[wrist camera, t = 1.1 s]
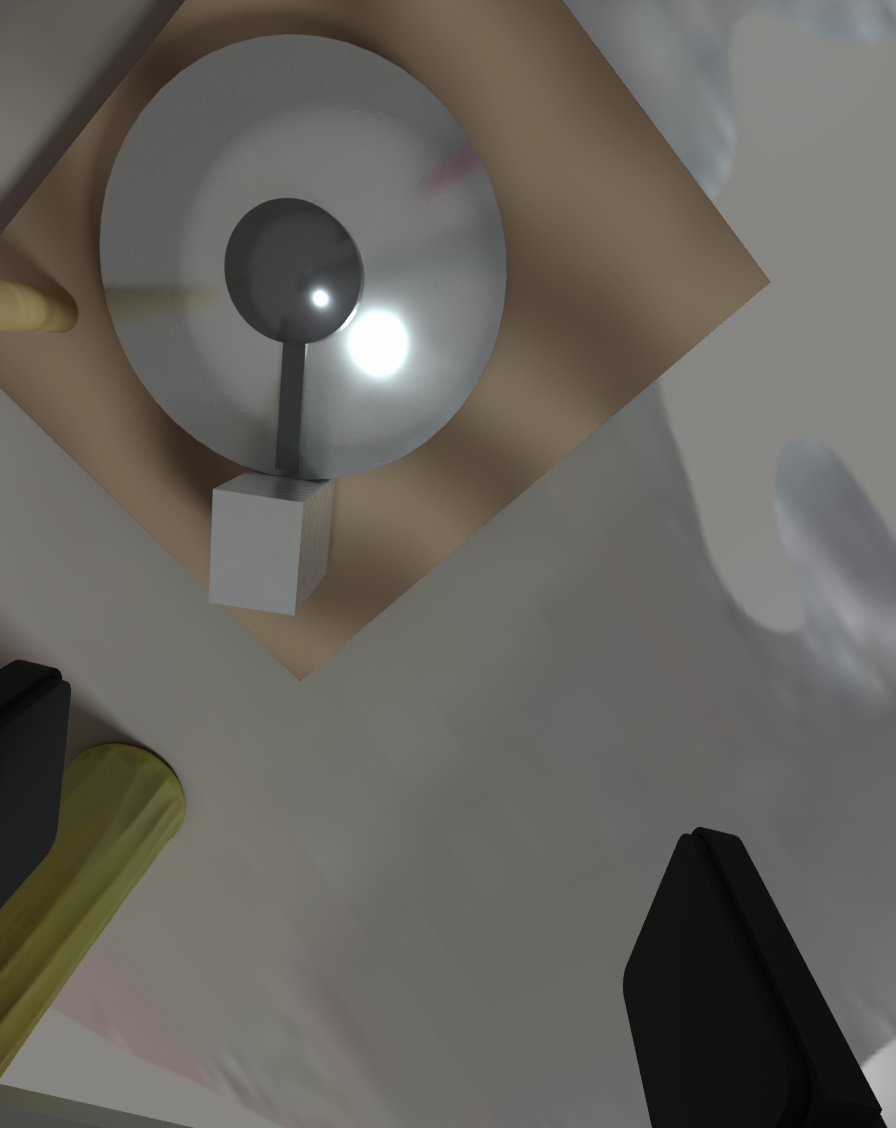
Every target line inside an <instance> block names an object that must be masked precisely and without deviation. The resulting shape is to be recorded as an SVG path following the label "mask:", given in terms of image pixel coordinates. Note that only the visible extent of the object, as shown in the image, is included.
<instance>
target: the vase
mask: <svg viewBox="0 0 896 1128" xmlns="http://www.w3.org/2000/svg"><path fill="white" fill-rule="evenodd" d="M184 814H185V797H184V793H183V790H182V787H181V785H180V783H179V781H178V779H177V778H176V776H175V774H174V773H173V772H172V770H171V769H170V768H169V767H168V766H167V765H166V764H165V763H164V762H162V761H161V760H160V759H159V758H157V757H156V756H154V755H153V754H151V753H149V752H147V751H146V750H143V749H140V748H137V747H134V746H131V745H126V744H119V743H113V744H104V745H99V746H96V747H93V748H90V749H88V750H85V751H84V752H82V753H81V754H79V755H78V756H77V757H76V758H75V759H74V760H73V761H72V762H71V763H70V764H69V765H68V767H67V769H66V770H65V772H64V773H63V779H62V789H61V800H60V810H59V821H58V830H57V835H56V838H55V841H54V843H53V845H52V848H51V849H50V851H49V853H48V854H47V856H46V857H45V858H44V859H43V861H42V862H41V863H40V864H39V865H38V866H37V867H36V869H35V870H34V871H33V872H32V873H31V874H30V875H29V877H28V878H27V879H26V880H25V881H24V882H23V884H22V885H21V886H20V887H19V888H18V889H17V890H16V892H15V893H14V894H13V895H12V896H11V897H10V898H9V900H8V901H7V902H6V903H5V904H4V905H3V907H2V908H1V909H0V1078H1V1076H2V1075H3V1073H4V1072H5V1071H6V1069H7V1068H8V1066H9V1065H10V1063H11V1061H12V1060H13V1059H14V1057H15V1056H16V1054H17V1053H18V1051H19V1050H20V1048H21V1047H22V1046H23V1044H24V1043H25V1041H26V1040H27V1038H28V1037H29V1035H30V1034H31V1032H32V1031H33V1029H34V1028H35V1026H36V1025H37V1023H38V1022H39V1020H40V1019H41V1018H42V1016H43V1015H44V1013H45V1012H46V1011H47V1009H48V1008H49V1006H50V1005H51V1003H52V1002H53V1001H54V999H55V998H56V996H57V995H58V993H59V992H60V991H61V989H62V988H63V986H64V985H65V984H66V982H67V981H68V979H69V978H70V976H71V975H72V974H73V972H74V971H75V969H76V968H77V966H78V965H79V964H80V962H81V961H82V959H83V958H84V956H85V955H86V953H87V952H88V951H89V949H90V948H91V946H92V945H93V944H94V942H95V941H96V939H97V938H98V937H99V935H100V934H101V933H102V931H103V930H104V928H105V927H106V926H107V924H108V923H109V921H110V920H111V919H112V917H113V916H114V914H115V913H116V912H117V910H118V909H119V907H120V906H121V904H122V903H123V902H124V900H125V899H126V897H127V896H128V895H129V893H130V892H131V891H132V889H133V888H134V887H135V886H136V884H137V883H138V882H139V880H140V879H141V878H142V876H143V875H144V874H145V872H146V871H147V870H148V868H149V867H150V866H151V864H152V863H153V861H154V860H155V858H156V857H157V855H158V854H159V853H160V851H161V850H162V848H163V847H164V846H165V845H166V843H167V842H168V841H169V840H170V839H171V838H173V837H174V835H175V834H176V833H177V831H178V830H179V828H180V826H181V824H182V821H183V818H184Z"/></svg>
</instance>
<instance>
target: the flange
mask: <svg viewBox="0 0 896 1128" xmlns="http://www.w3.org/2000/svg"><path fill="white" fill-rule="evenodd" d="M100 261H101V275H102V281H103V286H104V291H105V297H106V302H107V306H108V309H109V312H110V316H111V319H112V322H113V325H114V329H115V332H116V334H117V336H118V338H119V341H120V343H121V345H122V348H123V350H124V352H125V354H126V357H127V358H128V360H129V362H130V364H131V365H132V367H133V369H134V370H135V372H136V374H137V376H138V377H139V379H140V381H141V382H142V383H143V385H144V386H145V387H146V389H147V390H148V391H149V393H150V394H151V395H152V397H153V398H154V400H155V401H156V402H157V403H158V404H159V405H160V406H161V408H162V409H163V410H164V411H165V412H166V413H167V414H168V415H169V416H170V417H171V418H172V419H173V420H174V421H175V422H176V423H177V424H178V425H179V426H180V427H182V428H183V429H184V430H185V431H186V432H188V433H189V434H190V435H191V436H192V437H193V438H195V439H196V440H198V441H199V442H201V443H202V444H204V445H205V446H207V447H208V448H210V449H211V450H213V451H214V452H216V453H218V454H220V455H222V456H224V457H226V458H228V459H230V460H232V461H234V462H236V463H238V464H240V465H243V466H246V467H249V468H251V470H249V471H247V472H245V473H243V474H241V475H239V476H238V477H236V478H234V479H232V480H230V481H228V482H226V483H224V484H222V485H220V486H218V487H216V488H214V489H213V501H212V528H211V555H210V582H209V603H215V604H222V605H228V606H235V607H241V608H248V609H254V610H261V611H267V612H274V613H280V614H287V615H293V616H295V614H296V613H297V612H298V610H299V609H300V608H301V606H302V605H303V604H304V602H305V601H306V600H307V598H308V597H309V596H310V594H311V593H312V592H313V590H314V589H315V587H316V586H317V585H318V583H319V582H320V581H321V579H322V578H323V577H324V575H325V574H326V573H327V562H328V551H329V540H330V529H331V518H332V507H333V496H334V485H335V479H336V478H341V477H347V476H352V475H358V474H362V473H365V472H368V471H371V470H374V469H377V468H380V467H383V466H385V465H387V464H389V463H391V462H393V461H395V460H397V459H400V458H402V457H404V456H405V455H407V454H408V453H410V452H412V451H413V450H415V449H416V448H418V447H419V446H421V445H422V444H424V443H425V442H426V441H428V440H429V439H430V438H431V437H432V436H433V435H434V434H436V433H437V432H438V431H439V430H440V429H441V428H442V427H444V426H445V425H446V423H447V422H448V421H449V420H450V419H451V418H452V417H453V416H454V414H455V413H456V412H457V411H458V410H459V409H460V408H461V406H462V405H463V404H464V402H465V401H466V399H467V398H468V396H469V395H470V393H471V392H472V390H473V389H474V387H475V386H476V384H477V382H478V380H479V378H480V376H481V374H482V372H483V370H484V368H485V366H486V364H487V362H488V360H489V358H490V355H491V352H492V349H493V346H494V343H495V341H496V338H497V335H498V331H499V326H500V322H501V317H502V312H503V308H504V300H505V289H506V278H507V274H506V246H505V240H504V233H503V227H502V220H501V215H500V212H499V208H498V205H497V201H496V197H495V194H494V190H493V187H492V185H491V182H490V180H489V178H488V175H487V173H486V171H485V168H484V166H483V163H482V161H481V159H480V157H479V155H478V154H477V152H476V150H475V148H474V147H473V145H472V143H471V141H470V140H469V138H468V136H467V135H466V133H465V131H464V130H463V129H462V127H461V126H460V125H459V124H458V122H457V121H456V120H455V118H454V117H453V116H452V114H451V113H450V112H449V110H448V109H447V108H446V107H445V106H444V105H443V104H442V103H441V102H440V101H439V100H438V99H437V98H436V97H435V96H434V95H433V94H432V93H431V92H430V91H429V90H428V89H427V88H426V87H425V86H424V85H423V84H421V83H420V82H419V81H418V80H416V79H415V78H414V77H412V76H411V75H410V74H408V73H407V72H406V71H404V70H403V69H402V68H400V67H399V66H397V65H395V64H393V63H391V62H390V61H388V60H386V59H384V58H383V57H381V56H379V55H377V54H375V53H373V52H371V51H368V50H366V49H363V48H360V47H358V46H355V45H352V44H350V43H347V42H343V41H339V40H334V39H330V38H325V37H320V36H312V35H295V34H284V35H274V36H263V37H257V38H253V39H249V40H246V41H242V42H238V43H234V44H231V45H229V46H226V47H224V48H222V49H219V50H217V51H215V52H213V53H210V54H208V55H206V56H204V57H203V58H201V59H199V60H198V61H196V62H195V63H193V64H192V65H190V66H188V67H187V68H185V69H184V70H182V71H181V72H180V73H179V74H177V75H176V76H175V77H174V78H173V79H172V80H171V81H169V82H168V83H167V84H166V85H165V86H164V87H163V88H161V89H160V90H159V92H158V93H157V94H156V95H155V96H154V97H153V99H152V100H151V101H150V102H149V103H148V105H147V106H146V107H145V108H144V109H143V110H142V112H141V113H140V115H139V116H138V118H137V120H136V121H135V123H134V124H133V126H132V127H131V129H130V131H129V132H128V134H127V135H126V137H125V140H124V142H123V144H122V146H121V148H120V151H119V153H118V155H117V157H116V159H115V162H114V165H113V168H112V171H111V174H110V178H109V181H108V184H107V188H106V192H105V197H104V203H103V209H102V215H101V227H100Z"/></svg>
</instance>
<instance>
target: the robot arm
mask: <svg viewBox="0 0 896 1128" xmlns="http://www.w3.org/2000/svg"><path fill="white" fill-rule="evenodd" d="M70 695H71V687H70V684H69V683H68V682H67V681H63V680H62V675H61V672H60V671H59V670H58V669H56V668H52V667H48V666H44V665H40V664H36V663H32V662H28V661H24V660H15V661H13V662H11V663H9V664H8V665H6V666H5V667H3V668H2V669H0V909H1V908H2V907H3V905H4V904H5V903H6V902H7V901H8V900H9V898H10V897H11V896H12V895H13V894H14V893H15V892H16V890H17V889H18V888H19V887H20V886H21V885H22V884H23V882H24V881H25V880H26V879H27V878H28V877H29V875H30V874H31V873H32V872H33V871H34V870H35V869H36V867H37V866H38V865H39V864H40V863H41V862H42V861H43V859H44V858H45V857H46V856H47V854H48V853H49V851H50V849H51V848H52V845H53V843H54V841H55V838H56V835H57V830H58V821H59V810H60V800H61V789H62V779H63V768H64V758H65V747H66V737H67V726H68V716H69V706H70ZM623 994H624V1000H625V1004H626V1009H627V1014H628V1018H629V1023H630V1028H631V1032H632V1037H633V1042H634V1046H635V1051H636V1055H637V1060H638V1065H639V1069H640V1074H641V1079H642V1083H643V1088H644V1093H645V1097H646V1102H647V1107H648V1111H649V1116H650V1121H651V1125H652V1128H887V1126H886V1124H885V1122H884V1120H883V1118H882V1116H881V1115H880V1113H881V1111H882V1108H881V1106H880V1104H879V1103H878V1101H877V1099H876V1097H875V1095H874V1093H873V1091H872V1089H871V1088H870V1085H869V1083H868V1082H867V1080H866V1078H865V1076H864V1074H863V1072H862V1070H861V1068H860V1066H859V1064H858V1062H857V1060H856V1059H855V1057H854V1055H853V1053H852V1051H851V1049H850V1047H849V1045H848V1043H847V1041H846V1039H845V1038H844V1036H843V1034H842V1032H841V1030H840V1028H839V1026H838V1024H837V1022H836V1020H835V1018H834V1017H833V1015H832V1013H831V1011H830V1009H829V1007H828V1005H827V1003H826V1001H825V999H824V997H823V996H822V994H821V992H820V990H819V988H818V986H817V984H816V982H815V980H814V978H813V976H812V975H811V973H810V971H809V969H808V967H807V965H806V963H805V961H804V959H803V957H802V955H801V953H800V952H799V950H798V948H797V946H796V944H795V942H794V940H793V938H792V936H791V934H790V932H789V931H788V929H787V927H786V925H785V923H784V921H783V919H782V917H781V915H780V913H779V911H778V910H777V908H776V906H775V904H774V902H773V900H772V898H771V896H770V894H769V892H768V890H767V889H766V887H765V885H764V883H763V881H762V879H761V877H760V875H759V873H758V871H757V869H756V868H755V866H754V864H753V862H752V860H751V858H750V856H749V854H748V852H747V850H746V848H745V846H744V845H743V843H742V841H741V840H740V838H739V837H737V836H735V835H732V834H728V833H724V832H720V831H716V830H711V829H707V828H703V827H698V828H696V829H695V830H694V831H693V832H692V834H691V835H690V834H683V835H682V836H681V837H680V839H679V840H678V842H677V845H676V847H675V850H674V852H673V855H672V857H671V859H670V862H669V864H668V867H667V869H666V871H665V874H664V876H663V879H662V881H661V883H660V886H659V888H658V891H657V893H656V895H655V898H654V900H653V903H652V905H651V908H650V910H649V912H648V915H647V917H646V920H645V922H644V924H643V927H642V929H641V932H640V934H639V936H638V939H637V941H636V944H635V946H634V949H633V951H632V953H631V956H630V958H629V961H628V963H627V965H626V968H625V972H624V978H623ZM0 1128H192V1127H188V1126H183V1125H179V1124H175V1123H170V1122H166V1121H161V1120H157V1119H153V1118H149V1117H144V1116H140V1115H135V1114H131V1113H126V1112H122V1111H118V1110H113V1109H109V1108H104V1107H100V1106H96V1105H91V1104H86V1103H82V1102H77V1101H73V1100H69V1099H64V1098H60V1097H55V1096H51V1095H47V1094H42V1093H37V1092H33V1091H28V1090H24V1089H20V1088H16V1087H11V1086H7V1085H2V1084H0Z"/></svg>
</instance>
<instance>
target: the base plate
mask: <svg viewBox="0 0 896 1128" xmlns="http://www.w3.org/2000/svg"><path fill="white" fill-rule="evenodd" d="M284 34H295V35H312V36H320V37H325V38H330V39H334V40H339V41H343V42H347V43H350V44H352V45H355V46H358V47H360V48H363V49H366V50H368V51H371V52H373V53H375V54H377V55H379V56H381V57H383V58H384V59H386V60H388V61H390V62H391V63H393V64H395V65H397V66H399V67H400V68H402V69H403V70H404V71H406V72H407V73H408V74H410V75H411V76H412V77H414V78H415V79H416V80H418V81H419V82H420V83H421V84H423V85H424V86H425V87H426V88H427V89H428V90H429V91H430V92H431V93H432V94H433V95H434V96H435V97H436V98H437V99H438V100H439V101H440V102H441V103H442V104H443V105H444V106H445V107H446V108H447V109H448V110H449V112H450V113H451V114H452V116H453V117H454V118H455V120H456V121H457V122H458V124H459V125H460V126H461V127H462V129H463V130H464V131H465V133H466V135H467V136H468V138H469V140H470V141H471V143H472V145H473V147H474V148H475V150H476V152H477V154H478V155H479V157H480V159H481V161H482V163H483V166H484V168H485V171H486V173H487V175H488V178H489V180H490V182H491V185H492V187H493V190H494V194H495V197H496V201H497V205H498V208H499V212H500V215H501V220H502V227H503V233H504V240H505V246H506V274H507V278H506V289H505V300H504V308H503V312H502V317H501V322H500V326H499V331H498V335H497V338H496V341H495V343H494V346H493V349H492V352H491V355H490V358H489V360H488V362H487V364H486V366H485V368H484V370H483V372H482V374H481V376H480V378H479V380H478V382H477V384H476V386H475V387H474V389H473V390H472V392H471V393H470V395H469V396H468V398H467V399H466V401H465V402H464V404H463V405H462V406H461V408H460V409H459V410H458V411H457V412H456V413H455V414H454V416H453V417H452V418H451V419H450V420H449V421H448V422H447V423H446V425H445V426H444V427H442V428H441V429H440V430H439V431H438V432H437V433H436V434H434V435H433V436H432V437H431V438H430V439H429V440H428V441H426V442H425V443H424V444H422V445H421V446H419V447H418V448H416V449H415V450H413V451H412V452H410V453H408V454H407V455H405V456H404V457H402V458H400V459H397V460H395V461H393V462H391V463H389V464H387V465H385V466H383V467H380V468H377V469H374V470H371V471H368V472H365V473H362V474H358V475H352V476H347V477H341V478H336V479H335V485H334V496H333V507H332V518H331V529H330V540H329V551H328V562H327V573H326V574H325V575H324V577H323V578H322V579H321V581H320V582H319V583H318V585H317V586H316V587H315V589H314V590H313V592H312V593H311V594H310V596H309V597H308V598H307V600H306V601H305V602H304V604H303V605H302V606H301V608H300V609H299V610H298V612H297V613H296V614H295V616H293V615H287V614H280V613H274V612H267V611H261V610H254V609H248V608H241V607H235V606H228V605H223V606H224V607H225V608H226V609H227V610H228V611H229V612H230V613H231V614H232V615H233V616H234V617H235V618H236V619H237V620H238V621H239V622H240V623H241V624H242V625H243V626H244V627H245V628H246V629H247V630H248V631H249V632H250V633H251V634H252V635H253V636H254V637H255V638H256V639H257V640H258V641H259V642H260V643H261V644H262V645H264V646H265V647H266V648H267V649H268V650H269V651H270V652H271V653H272V654H273V655H274V656H275V657H276V658H277V659H278V660H279V661H280V662H281V663H282V664H283V665H284V666H285V667H286V668H287V669H288V670H289V671H290V672H291V673H292V674H293V675H294V676H295V677H296V678H297V679H298V680H299V681H301V680H302V679H303V678H304V677H306V676H307V675H308V674H309V673H310V672H312V671H313V670H314V669H315V668H316V667H317V666H319V665H320V664H321V663H322V662H323V661H324V660H326V659H327V658H328V657H329V656H330V655H332V654H333V653H334V652H335V651H336V650H337V649H339V648H340V647H341V646H342V645H343V644H345V643H346V642H347V641H348V640H349V639H350V638H352V637H353V636H354V635H355V634H356V633H357V632H359V631H360V630H361V629H362V628H363V627H365V626H366V625H367V624H368V623H369V622H370V621H372V620H373V619H374V618H375V617H376V616H378V615H379V614H380V613H381V612H382V611H383V610H385V609H386V608H387V607H388V606H389V605H390V604H392V603H393V602H394V601H395V600H396V599H398V598H399V597H400V596H401V595H402V594H403V593H405V592H406V591H407V590H408V589H409V588H411V587H412V586H413V585H414V584H415V583H416V582H418V581H419V580H420V579H421V578H422V577H423V576H425V575H426V574H427V573H428V572H429V571H431V570H432V569H433V568H434V567H435V566H436V565H438V564H439V563H440V562H441V561H442V560H444V559H445V558H446V557H447V556H448V555H449V554H451V553H452V552H453V551H454V550H455V549H456V548H458V547H459V546H460V545H461V544H462V543H464V542H465V541H466V540H467V539H468V538H469V537H471V536H472V535H473V534H474V533H475V532H477V531H478V530H479V529H480V528H481V527H482V526H484V525H485V524H486V523H487V522H488V521H489V520H491V519H492V518H493V517H494V516H495V515H497V514H498V513H499V512H500V511H501V510H502V509H504V508H505V507H506V506H507V505H508V504H510V503H511V502H512V501H513V500H514V499H515V498H517V497H518V496H519V495H520V494H521V493H522V492H524V491H525V490H526V489H527V488H528V487H530V486H531V485H532V484H533V483H534V482H535V481H537V480H538V479H539V478H540V477H541V476H543V475H544V474H545V473H546V472H547V471H548V470H550V469H551V468H552V467H553V466H554V465H555V464H557V463H558V462H559V461H560V460H561V459H563V458H564V457H565V456H566V455H567V454H568V453H570V452H571V451H572V450H573V449H574V448H576V447H577V446H578V445H579V444H580V443H581V442H583V441H584V440H585V439H586V438H587V437H588V436H590V435H591V434H592V433H593V432H594V431H596V430H597V429H598V428H599V427H600V426H601V425H603V424H604V423H605V422H606V421H607V420H609V419H610V418H611V417H612V416H613V415H614V414H616V413H617V412H618V411H619V410H620V409H621V408H623V407H624V406H625V405H626V404H627V403H629V402H630V401H631V400H632V399H633V398H634V397H636V396H637V395H638V394H639V393H640V392H642V391H643V390H644V389H645V388H646V387H647V386H649V385H650V384H651V383H652V382H653V381H654V380H656V379H657V378H658V377H659V376H660V375H662V374H663V373H664V372H665V371H666V370H667V369H669V368H670V367H671V366H672V365H673V364H674V363H675V362H677V361H678V360H679V359H680V358H682V357H683V356H684V355H685V354H686V353H687V352H689V351H690V350H691V349H692V348H693V347H695V345H697V344H698V343H699V342H700V341H702V340H703V339H704V338H705V337H706V336H708V335H709V334H710V333H711V332H712V331H713V330H715V329H716V327H718V326H719V325H720V324H722V323H723V322H724V321H725V320H726V319H727V318H729V317H730V316H731V315H732V314H733V313H734V312H736V311H737V310H738V309H739V308H741V307H742V306H743V305H744V304H745V303H746V302H748V301H749V300H750V299H751V298H752V297H753V296H755V295H756V294H757V293H758V292H759V291H761V290H762V289H763V288H764V287H765V286H766V285H768V284H769V283H770V281H769V279H768V278H767V277H766V275H765V274H764V273H763V271H762V270H761V269H760V267H759V266H758V265H757V263H756V262H755V260H754V259H753V258H752V256H751V255H750V254H749V252H748V251H747V249H746V248H745V247H744V246H743V244H742V243H741V242H740V240H739V239H738V237H737V236H736V235H735V233H734V232H733V231H732V229H731V228H730V226H729V225H728V224H727V222H726V221H725V220H724V218H723V217H722V216H721V214H720V213H719V212H718V210H717V209H716V208H715V206H714V205H713V203H712V202H711V201H710V199H709V198H708V197H707V195H706V194H705V193H704V191H703V190H702V189H701V187H700V186H699V184H698V183H697V182H696V180H695V179H694V178H693V176H692V175H691V174H690V172H689V171H688V170H687V168H686V167H685V166H684V164H683V163H682V161H681V160H680V159H679V157H678V156H677V155H676V153H675V152H674V151H673V149H672V148H671V147H670V145H669V144H668V143H667V141H666V140H665V138H664V137H663V136H662V134H661V133H660V132H659V130H658V129H657V128H656V126H655V125H654V124H653V122H652V121H651V120H650V118H649V117H648V115H647V114H646V113H645V111H644V110H643V109H642V107H641V106H640V105H639V103H638V102H637V101H636V99H635V98H634V97H633V95H632V94H631V92H630V91H629V90H628V88H627V87H626V86H625V84H624V83H623V82H622V80H621V79H620V78H619V76H618V75H617V74H616V72H615V71H614V69H613V68H612V67H611V65H610V64H609V63H608V61H607V60H606V59H605V57H604V56H603V55H602V53H601V52H600V50H599V49H598V48H597V46H596V45H595V44H594V42H593V41H592V40H591V38H590V37H589V36H588V34H587V33H586V32H585V30H584V29H583V27H582V26H581V25H580V23H579V22H578V21H577V19H576V18H575V17H574V15H573V14H572V13H571V11H570V10H569V9H568V7H567V6H566V4H565V3H564V2H563V0H185V1H184V2H183V4H182V5H181V6H180V8H179V9H178V10H177V11H176V13H175V14H174V15H173V16H172V18H171V19H170V20H169V21H168V23H167V24H166V25H165V27H164V28H163V29H162V30H161V32H160V33H159V34H158V35H157V37H156V38H155V39H154V40H153V42H152V43H151V44H150V46H149V47H148V48H147V49H146V51H145V52H144V53H143V54H142V56H141V57H140V58H139V59H138V61H137V62H136V63H135V65H134V66H133V67H132V68H131V70H130V71H129V72H128V73H127V75H126V76H125V77H124V78H123V80H122V81H121V82H120V84H119V85H118V86H117V87H116V89H115V90H114V91H113V92H112V94H111V95H110V96H109V97H108V99H107V100H106V101H105V103H104V104H103V105H102V106H101V108H100V109H99V110H98V111H97V113H96V114H95V115H94V116H93V118H92V119H91V120H90V122H89V123H88V124H87V125H86V127H85V128H84V129H83V130H82V132H81V133H80V134H79V135H78V137H77V138H76V139H75V141H74V142H73V143H72V144H71V146H70V147H69V148H68V149H67V151H66V152H65V153H64V154H63V156H62V157H61V158H60V160H59V161H58V162H57V163H56V165H55V166H54V167H53V168H52V170H51V171H50V172H49V173H48V175H47V176H46V177H45V179H44V180H43V181H42V182H41V184H40V185H39V186H38V187H37V189H36V190H35V191H34V192H33V194H32V195H31V196H30V198H29V199H28V200H27V201H26V203H25V204H24V205H23V206H22V208H21V209H20V210H19V211H18V213H17V214H16V215H15V217H14V218H13V219H12V220H11V222H10V223H9V224H8V225H7V227H6V228H5V229H4V230H3V232H2V233H1V234H0V388H1V389H2V390H3V391H4V392H5V393H6V394H7V395H8V396H9V397H10V398H11V399H12V400H13V401H14V402H15V403H16V404H17V405H18V406H19V407H20V408H21V409H22V410H23V411H24V412H25V413H26V414H27V415H28V416H29V417H30V418H31V419H32V420H33V421H34V422H36V423H37V424H38V425H39V426H40V427H41V428H42V429H43V430H44V431H45V432H46V433H47V434H48V435H49V436H50V437H51V438H52V439H53V440H54V441H55V442H56V443H57V444H58V445H59V446H60V447H61V448H62V449H63V450H64V451H65V452H66V453H67V454H68V455H69V456H70V457H71V458H72V459H73V460H74V461H75V462H76V463H77V464H78V465H79V466H80V467H82V468H83V469H84V470H85V471H86V472H87V473H88V474H89V475H90V476H91V477H92V478H93V479H94V480H95V481H96V482H97V483H98V484H99V485H100V486H101V487H102V488H103V489H104V490H105V491H106V492H107V493H108V494H109V495H110V496H111V497H112V498H113V499H114V500H115V501H116V502H117V503H118V504H119V505H120V506H121V507H122V508H123V509H124V510H125V511H126V512H128V513H129V514H130V515H131V516H132V517H133V518H134V519H135V520H136V521H137V522H138V523H139V524H140V525H141V526H142V527H143V528H144V529H145V530H146V531H147V532H148V533H149V534H150V535H151V536H152V537H153V538H154V539H155V540H156V541H157V542H158V543H159V544H160V545H161V546H162V547H163V548H164V549H165V550H166V551H167V552H168V553H169V554H170V555H171V556H173V557H174V558H175V559H176V560H177V561H178V562H179V563H180V564H181V565H182V566H183V567H184V568H185V569H186V570H187V571H188V572H189V573H190V574H191V575H192V576H193V577H194V578H195V579H196V580H197V581H198V582H199V583H200V584H201V585H202V586H203V587H204V588H205V589H206V590H207V591H208V592H209V582H210V555H211V528H212V501H213V489H214V488H216V487H218V486H220V485H222V484H224V483H226V482H228V481H230V480H232V479H234V478H236V477H238V476H239V475H241V474H243V473H245V472H247V471H249V470H251V468H249V467H246V466H243V465H240V464H238V463H236V462H234V461H232V460H230V459H228V458H226V457H224V456H222V455H220V454H218V453H216V452H214V451H213V450H211V449H210V448H208V447H207V446H205V445H204V444H202V443H201V442H199V441H198V440H196V439H195V438H193V437H192V436H191V435H190V434H189V433H188V432H186V431H185V430H184V429H183V428H182V427H180V426H179V425H178V424H177V423H176V422H175V421H174V420H173V419H172V418H171V417H170V416H169V415H168V414H167V413H166V412H165V411H164V410H163V409H162V408H161V406H160V405H159V404H158V403H157V402H156V401H155V400H154V398H153V397H152V395H151V394H150V393H149V391H148V390H147V389H146V387H145V386H144V385H143V383H142V382H141V381H140V379H139V377H138V376H137V374H136V372H135V370H134V369H133V367H132V365H131V364H130V362H129V360H128V358H127V357H126V354H125V352H124V350H123V348H122V345H121V343H120V341H119V338H118V336H117V334H116V332H115V329H114V325H113V322H112V319H111V316H110V312H109V309H108V306H107V302H106V297H105V291H104V286H103V281H102V275H101V261H100V227H101V215H102V209H103V203H104V197H105V192H106V188H107V184H108V181H109V178H110V174H111V171H112V168H113V165H114V162H115V159H116V157H117V155H118V153H119V151H120V148H121V146H122V144H123V142H124V140H125V137H126V135H127V134H128V132H129V131H130V129H131V127H132V126H133V124H134V123H135V121H136V120H137V118H138V116H139V115H140V113H141V112H142V110H143V109H144V108H145V107H146V106H147V105H148V103H149V102H150V101H151V100H152V99H153V97H154V96H155V95H156V94H157V93H158V92H159V90H160V89H161V88H163V87H164V86H165V85H166V84H167V83H168V82H169V81H171V80H172V79H173V78H174V77H175V76H176V75H177V74H179V73H180V72H181V71H182V70H184V69H185V68H187V67H188V66H190V65H192V64H193V63H195V62H196V61H198V60H199V59H201V58H203V57H204V56H206V55H208V54H210V53H213V52H215V51H217V50H219V49H222V48H224V47H226V46H229V45H231V44H234V43H238V42H242V41H246V40H249V39H253V38H257V37H263V36H274V35H284Z"/></svg>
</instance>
